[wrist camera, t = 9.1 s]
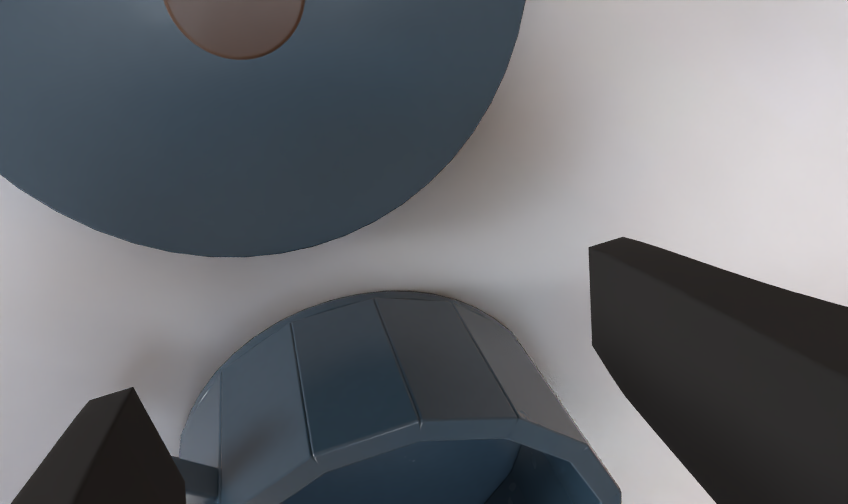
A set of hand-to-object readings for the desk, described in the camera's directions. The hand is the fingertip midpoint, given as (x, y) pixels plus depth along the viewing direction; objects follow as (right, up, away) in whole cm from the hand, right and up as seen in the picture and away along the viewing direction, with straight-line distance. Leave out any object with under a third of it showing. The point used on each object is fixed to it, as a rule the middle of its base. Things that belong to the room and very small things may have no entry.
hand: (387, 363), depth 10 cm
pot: (-1, -5, +13) cm, 14 cm away
